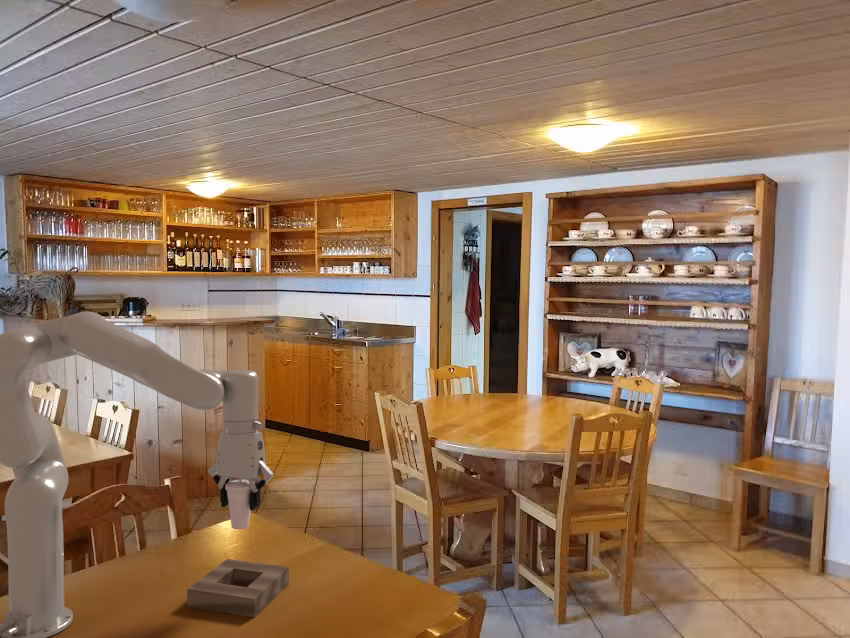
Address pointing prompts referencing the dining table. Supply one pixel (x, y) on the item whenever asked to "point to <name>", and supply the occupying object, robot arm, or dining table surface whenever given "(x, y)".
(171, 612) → the dining table surface
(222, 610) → the bottle stand
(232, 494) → the smoothie
